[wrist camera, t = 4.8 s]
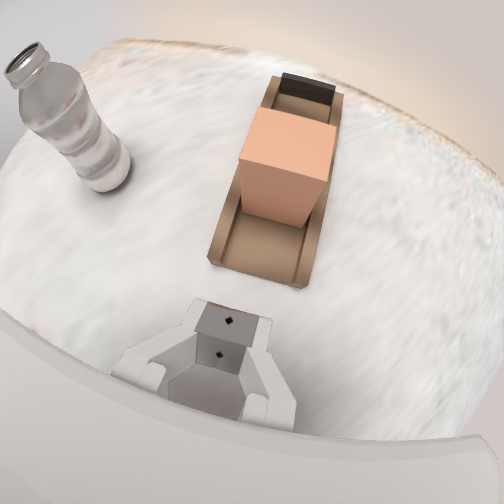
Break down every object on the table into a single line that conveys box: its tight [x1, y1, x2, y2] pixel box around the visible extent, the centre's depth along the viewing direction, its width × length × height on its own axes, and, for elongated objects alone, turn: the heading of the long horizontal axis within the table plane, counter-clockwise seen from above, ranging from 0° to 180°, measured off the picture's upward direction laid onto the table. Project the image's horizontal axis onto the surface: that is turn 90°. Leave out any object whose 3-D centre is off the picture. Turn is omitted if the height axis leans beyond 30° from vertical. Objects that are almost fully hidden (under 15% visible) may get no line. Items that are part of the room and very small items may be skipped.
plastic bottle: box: [4, 42, 131, 192], centre depth 20 cm, size 6×7×20 cm
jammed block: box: [239, 107, 337, 229], centre depth 23 cm, size 5×6×10 cm
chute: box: [207, 72, 344, 289], centre depth 28 cm, size 24×9×4 cm, turn 164°
